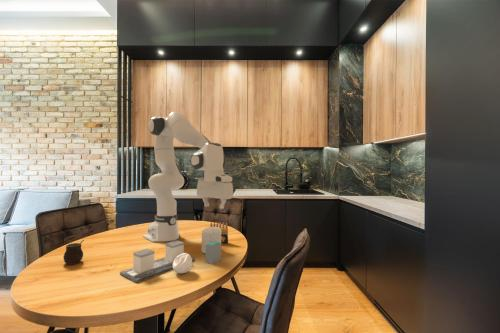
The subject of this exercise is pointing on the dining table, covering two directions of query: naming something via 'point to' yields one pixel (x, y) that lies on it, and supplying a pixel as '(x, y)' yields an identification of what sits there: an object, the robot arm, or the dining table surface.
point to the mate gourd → (73, 253)
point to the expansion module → (213, 252)
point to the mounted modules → (146, 257)
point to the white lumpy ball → (182, 263)
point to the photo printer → (210, 236)
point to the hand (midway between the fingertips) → (214, 207)
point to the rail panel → (159, 268)
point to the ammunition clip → (222, 232)
